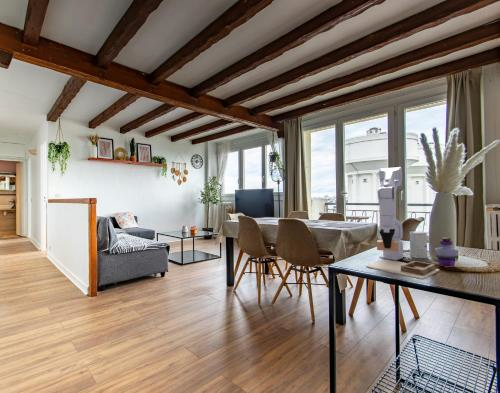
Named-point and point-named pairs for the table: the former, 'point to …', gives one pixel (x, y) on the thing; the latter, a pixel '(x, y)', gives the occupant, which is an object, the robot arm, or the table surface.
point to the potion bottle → (446, 253)
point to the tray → (418, 267)
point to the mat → (397, 268)
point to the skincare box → (418, 244)
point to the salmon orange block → (393, 248)
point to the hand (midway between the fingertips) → (387, 247)
